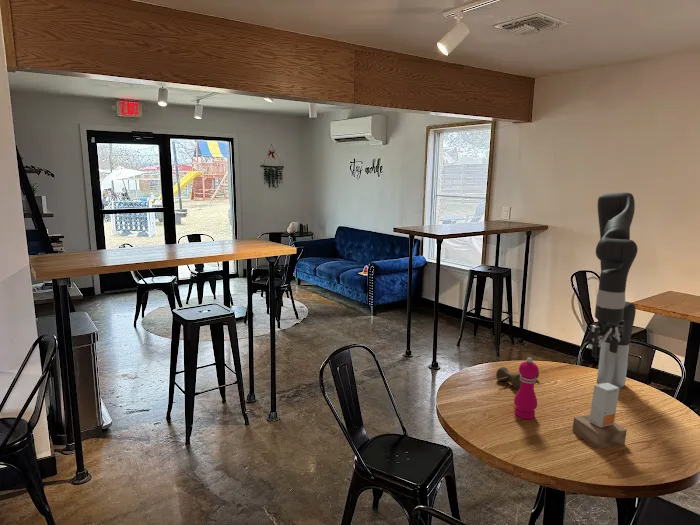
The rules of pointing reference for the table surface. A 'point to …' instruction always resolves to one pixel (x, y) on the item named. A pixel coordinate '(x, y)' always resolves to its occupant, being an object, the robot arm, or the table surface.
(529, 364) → the pepper mill
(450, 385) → the table surface
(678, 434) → the table surface
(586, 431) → the walnut block
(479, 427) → the table surface
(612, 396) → the skincare box
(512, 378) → the kendama
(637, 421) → the table surface
